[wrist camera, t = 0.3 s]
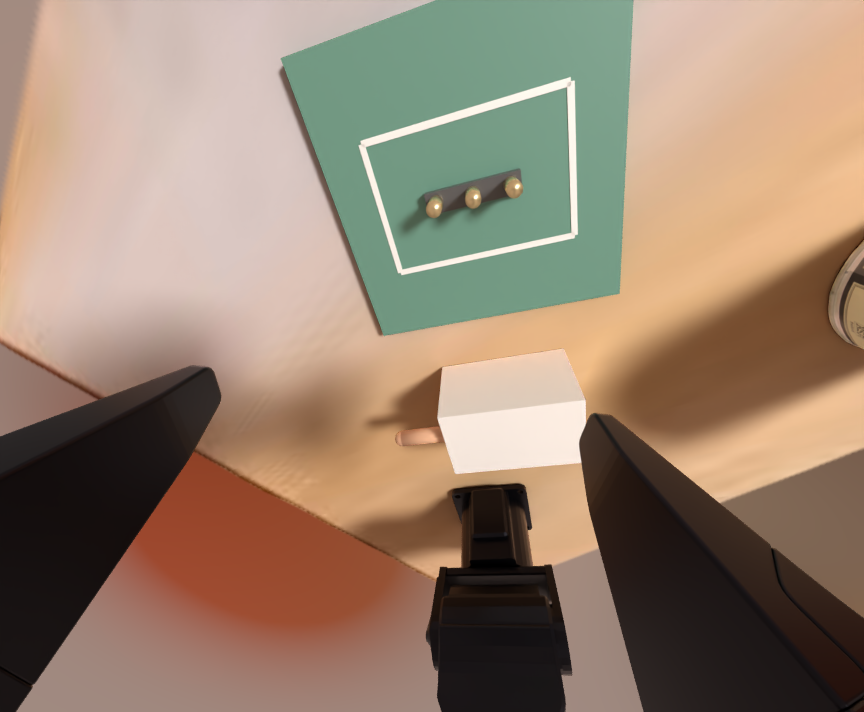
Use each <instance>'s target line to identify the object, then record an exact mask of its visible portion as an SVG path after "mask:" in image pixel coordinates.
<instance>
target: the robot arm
mask: <svg viewBox="0 0 864 712" xmlns="http://www.w3.org/2000/svg"><path fill="white" fill-rule="evenodd" d="M220 401H221V392H220V389H219V386H218V383H217V379H216V376H215V373H214V371H213V370H212V369H211V368H209V367H205V366H196V365H193V366H189V367H186V368H183V369H181V370H178V371H175V372H173V373H170V374H167V375H164V376H162V377H159V378H156V379H154V380H151V381H148V382H146V383H143V384H140V385H138V386H135V387H132V388H129V389H127V390H124V391H121V392H119V393H116V394H113V395H111V396H108V397H105V398H102V399H100V400H97V401H94V402H92V403H89V404H86V405H84V406H81V407H78V408H76V409H73V410H70V411H68V412H65V413H62V414H60V415H57V416H54V417H51V418H49V419H46V420H43V421H41V422H38V423H35V424H33V425H30V426H27V427H24V428H22V429H19V430H16V431H14V432H11V433H8V434H6V435H3V436H0V712H16V711H17V710H18V708H19V707H20V705H21V703H22V702H23V701H24V699H25V698H26V697H27V695H28V694H29V692H30V691H31V689H32V687H33V686H32V685H33V684H35V683H36V681H37V680H38V678H39V677H40V676H41V674H42V673H43V671H44V670H45V668H46V667H47V665H48V664H49V662H50V661H51V660H52V658H53V657H54V655H55V654H56V652H57V651H58V649H59V648H60V647H61V645H62V644H63V642H64V641H65V639H66V638H67V636H68V635H69V633H70V632H71V631H72V629H73V627H74V626H75V625H76V623H77V622H78V620H79V619H80V617H81V616H82V615H83V613H84V612H85V610H86V609H87V607H88V606H89V604H90V603H91V601H92V600H93V598H94V597H95V596H96V594H97V593H98V591H99V590H100V588H101V586H102V585H103V584H104V582H105V581H106V580H107V578H108V577H109V575H110V574H111V572H112V571H113V569H114V568H115V566H116V565H117V563H118V562H119V561H120V559H121V558H122V556H123V555H124V553H125V552H126V550H127V549H128V547H129V546H130V545H131V543H132V542H133V540H134V539H135V537H136V536H137V534H138V533H139V531H140V530H141V529H142V527H143V526H144V524H145V523H146V521H147V520H148V518H149V517H150V516H151V514H152V513H153V511H154V510H155V508H156V507H157V505H158V504H159V502H160V501H161V499H162V498H163V497H164V495H165V494H166V492H167V491H168V489H169V488H170V486H171V485H172V484H173V482H174V481H175V479H176V478H177V476H178V475H179V473H180V472H181V470H182V469H183V467H184V466H185V464H186V463H187V461H188V460H189V458H190V457H191V455H192V453H193V451H194V450H195V448H196V446H197V444H198V442H199V441H200V439H201V437H202V435H203V433H204V432H205V430H206V428H207V426H208V424H209V422H210V421H211V419H212V417H213V415H214V413H215V411H216V410H217V408H218V406H219V404H220ZM579 450H580V457H581V463H582V470H583V476H584V483H585V489H586V496H587V502H588V507H589V512H590V516H591V520H592V523H593V527H594V531H595V535H596V538H597V542H598V546H599V549H600V552H601V556H602V560H603V563H604V568H605V571H606V575H607V579H608V582H609V586H610V589H611V593H612V597H613V600H614V604H615V608H616V612H617V615H618V619H619V622H620V626H621V630H622V634H623V638H624V641H625V645H626V649H627V652H628V656H629V660H630V663H631V667H632V670H633V674H634V678H635V682H636V685H637V689H638V692H639V696H640V700H641V704H642V707H643V711H644V712H864V618H863V617H861V616H860V615H859V614H857V613H856V612H855V611H854V610H852V609H851V608H850V607H848V606H847V605H846V604H844V603H843V602H842V601H840V600H839V599H838V598H836V597H835V596H834V595H833V594H831V593H830V592H829V591H828V590H826V589H825V588H824V587H822V586H821V585H820V584H818V583H817V582H816V581H815V580H814V579H812V578H811V577H810V576H809V575H807V574H806V573H805V572H804V571H802V570H801V569H800V568H798V567H797V566H796V565H795V564H794V563H793V562H791V561H790V560H789V559H788V558H786V557H785V556H784V555H783V554H781V553H780V552H779V551H778V550H777V549H775V548H771V546H770V544H769V543H768V542H767V541H765V540H764V539H763V538H762V537H760V536H759V535H758V534H757V533H756V532H754V531H753V530H752V529H751V528H749V527H748V526H747V525H746V524H744V523H743V522H742V521H741V520H740V519H738V518H737V517H736V516H734V515H733V514H732V513H731V512H730V511H729V510H727V509H726V508H725V507H724V506H722V505H721V504H720V503H719V502H717V501H716V500H715V499H714V498H713V497H711V496H710V495H709V494H708V493H706V492H705V491H704V490H703V489H701V488H700V487H699V486H698V485H697V484H695V483H694V482H693V481H692V480H690V479H689V478H688V477H687V476H686V475H684V474H683V473H682V472H681V471H679V470H678V469H677V468H676V467H674V466H673V465H672V464H671V463H670V462H668V461H667V460H666V459H665V458H663V457H662V456H661V455H660V454H658V453H657V452H656V451H655V450H654V449H652V448H651V447H650V446H649V445H647V444H646V443H645V442H644V441H643V440H641V439H640V438H639V437H638V436H636V435H635V434H634V433H633V432H631V431H630V430H629V429H628V428H627V427H625V426H624V425H623V424H622V423H620V422H619V421H618V420H617V419H615V418H614V417H613V416H611V415H608V414H600V413H593V414H591V415H590V417H589V418H588V421H587V423H586V425H585V427H584V430H583V432H582V434H581V437H580V440H579ZM452 498H453V501H454V504H455V507H456V510H457V512H458V515H459V518H460V521H461V524H462V553H461V568H447V567H440V571H439V577H437V581H436V587H435V594H434V600H433V606H432V612H431V617H430V621H429V624H428V628H427V631H426V641H427V642H428V644H429V645H430V647H431V652H432V660H433V665H434V668H435V670H436V671H438V691H437V698H438V702H439V705H440V708H441V711H442V712H566V711H565V710H566V708H565V707H566V703H565V694H564V688H563V682H562V677H561V675H568V676H572V668H571V660H570V653H569V648H568V642H567V636H566V630H565V625H564V620H563V615H562V611H561V607H560V602H559V597H558V592H557V588H556V583H555V579H554V574H553V569H552V565H551V564H550V565H544V566H533V562H532V556H531V549H530V542H529V535H528V530H531V529H532V524H531V518H530V511H529V505H528V499H527V493H526V487H525V486H524V485H520V484H519V485H506V486H494V487H481V488H469V489H457V490H454V491H453V492H452Z"/></svg>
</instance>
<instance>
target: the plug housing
mask: <svg viewBox="0 0 864 712" xmlns="http://www.w3.org/2000/svg"><path fill="white" fill-rule="evenodd" d="M437 419H438V422H439V425H440V426H436V427H428V428H420V429H411V430H403V431H399V432H398V433H397V434H396V437H395V440H396V443H397V444H398V445H400V446H410V445H419V444H428V443H437V442H445V443H446V447H447V450H448V453H449V456H450V459H451V462H452V465H453V468H454V471H455V474H461V473H472V472H484V471H495V470H506V469H517V468H528V467H540V466H551V465H562V464H573V463H581V457H580V450H579V440H580V437H581V434H582V432H583V430H584V427H585V425H586V400H585V397H584V395H583V393H582V390H581V388H580V386H579V383H578V381H577V379H576V376H575V374H574V372H573V369H572V367H571V365H570V362H569V360H568V358H567V355H566V353H565V351H564V348H563V349H556V350H550V351H543V352H537V353H530V354H524V355H517V356H511V357H504V358H498V359H491V360H485V361H478V362H472V363H465V364H459V365H452V366H446V367H442V376H441V386H440V396H439V406H438V417H437Z"/></svg>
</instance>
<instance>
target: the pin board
mask: <svg viewBox="0 0 864 712" xmlns="http://www.w3.org/2000/svg"><path fill="white" fill-rule="evenodd" d="M632 18H633V0H435V1H433V2H430V3H427V4H425V5H422V6H419V7H417V8H414V9H411V10H409V11H406V12H403V13H401V14H398V15H395V16H393V17H390V18H387V19H385V20H382V21H379V22H377V23H374V24H371V25H369V26H366V27H363V28H361V29H358V30H355V31H353V32H350V33H347V34H345V35H342V36H339V37H336V38H334V39H331V40H328V41H326V42H323V43H320V44H318V45H315V46H312V47H310V48H307V49H304V50H302V51H299V52H296V53H294V54H291V55H288V56H286V57H283V58H281V61H282V63H283V66H284V69H285V71H286V74H287V77H288V79H289V82H290V85H291V87H292V90H293V93H294V96H295V98H296V101H297V104H298V106H299V109H300V112H301V114H302V117H303V120H304V122H305V125H306V128H307V131H308V133H309V136H310V139H311V141H312V144H313V147H314V149H315V152H316V155H317V157H318V160H319V163H320V166H321V168H322V171H323V174H324V176H325V179H326V182H327V184H328V187H329V190H330V192H331V195H332V198H333V200H334V203H335V206H336V209H337V211H338V214H339V217H340V219H341V222H342V225H343V227H344V230H345V233H346V235H347V238H348V241H349V244H350V246H351V249H352V252H353V254H354V257H355V260H356V262H357V265H358V268H359V270H360V273H361V276H362V278H363V281H364V284H365V287H366V289H367V292H368V295H369V297H370V300H371V303H372V305H373V308H374V311H375V313H376V316H377V319H378V322H379V324H380V327H381V330H382V332H383V335H384V336H386V335H391V334H397V333H402V332H408V331H414V330H419V329H425V328H430V327H436V326H442V325H447V324H453V323H458V322H464V321H470V320H475V319H481V318H486V317H492V316H498V315H503V314H509V313H514V312H520V311H526V310H531V309H537V308H542V307H548V306H554V305H559V304H565V303H570V302H576V301H581V300H587V299H593V298H598V297H604V296H609V295H615V294H620V273H621V252H622V230H623V209H624V188H625V167H626V145H627V124H628V103H629V82H630V61H631V39H632Z"/></svg>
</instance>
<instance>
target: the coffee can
mask: <svg viewBox="0 0 864 712" xmlns="http://www.w3.org/2000/svg"><path fill="white" fill-rule="evenodd" d="M829 294H830V297H829V306H828V313H829V319H830V322H831V325H832V327H833V329H834V330H835V331H836V333H837V334H838V335H839V336H840V337H841V338H842V339H844V340H845V341H846V342H848V343H850V344H852V345H854V346H857V347H859V348H862V349H864V241H862V243H861V244H860V245H859V246H858V247H857V248H856V249H855V250H854V252H853V253H852V254H851V255H850V256H849V258H848V259H847V261H846V262H845V264H844V266H843V267H842V269H841V270H840V272H839V274H838V275H837V277H836V279H835V282H834V284H833V286H832V289H831V291H830V293H829Z"/></svg>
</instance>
